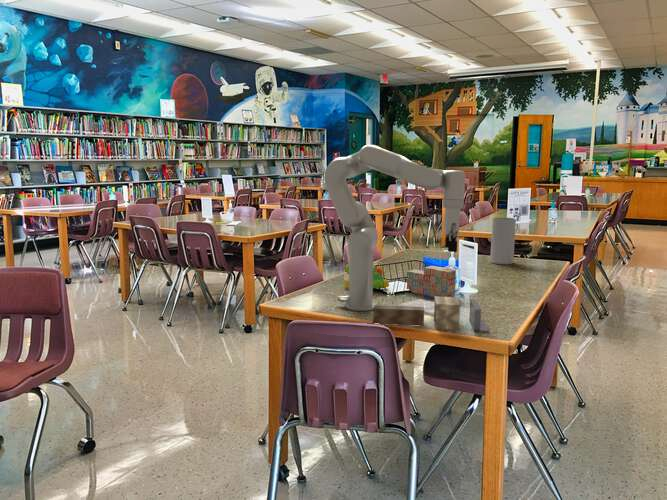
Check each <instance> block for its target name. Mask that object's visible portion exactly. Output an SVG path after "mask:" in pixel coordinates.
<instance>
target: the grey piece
mask: <svg viewBox="0 0 667 500" xmlns="http://www.w3.org/2000/svg"><path fill="white" fill-rule="evenodd" d="M481 317H482V309H481V306H480V305H479V302H478V301H477V299H473V298H471V299H470V300H469V317H468V320H469V323H470V326H471V328H472V330H473V332H474V333H489V332H490V330H489V328H488V327H487V324H486V322H485V320H484V319H482V318H481Z"/></svg>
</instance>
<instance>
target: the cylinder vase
mask: <svg viewBox="0 0 667 500" xmlns="http://www.w3.org/2000/svg"><path fill="white" fill-rule="evenodd" d="M516 222H517V218H514V217H501V216H500V217H493V218H492V221H491V223H492V224H491V242H490V263H491V264H495V265H504V266H505V265H512V264H514V258H515V257H514V255H515V241H516V237H515V236H516Z"/></svg>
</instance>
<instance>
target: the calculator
mask: <svg viewBox="0 0 667 500" xmlns="http://www.w3.org/2000/svg"><path fill="white" fill-rule="evenodd" d="M434 302H435V301H434ZM434 302H433V301H429V300H426V299H421V298H419V299H416V300H415V299H414V300H411V301H408V302H402V303H401V304H399V306H411V307H424V315H427V316H430V317H434Z"/></svg>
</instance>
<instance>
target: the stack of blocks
mask: <svg viewBox="0 0 667 500" xmlns="http://www.w3.org/2000/svg"><path fill="white" fill-rule="evenodd" d="M456 275H457V270H456V269H452V268H450V267H443V266H436V265H429V266H426V267H424V268H423V270H421V269H415V268H414V269H411V270H407V271H406V290H407V289H409V290H411V292H410V293H413V294H417V295H423V296H427V297H432V298H435V296H437V297H456V296H455V293H456V283H457V282H456V281H457V280H456V279H457V277H456Z"/></svg>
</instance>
